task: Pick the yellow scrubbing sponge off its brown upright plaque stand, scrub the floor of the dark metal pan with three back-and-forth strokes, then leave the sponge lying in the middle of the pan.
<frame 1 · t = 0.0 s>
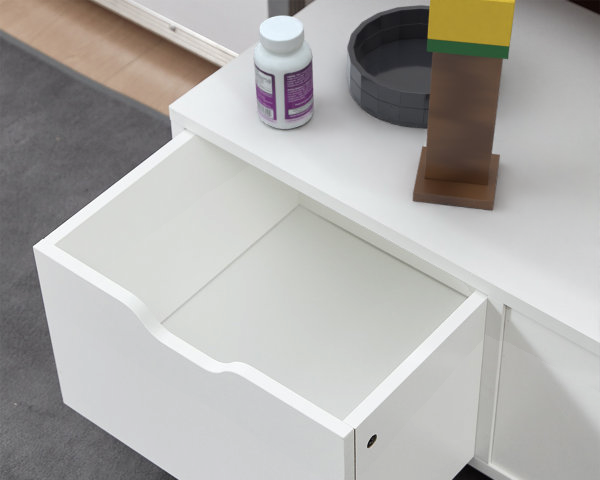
sponge: (469, 40, 98), point 15 cm above the table, touching brown upright plaque stand
pan: (420, 81, 119), on the table
pill bottle: (285, 115, 116), on the table
brown upright plaque stand: (456, 181, 109), on the table
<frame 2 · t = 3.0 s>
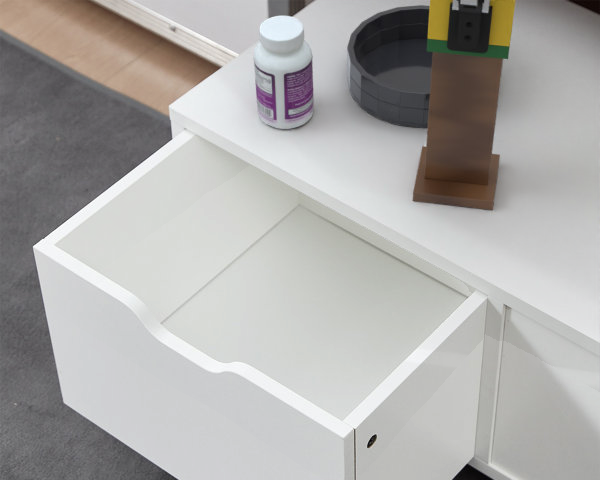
hand: (470, 29, 97), 16 cm above the table, tool pointing down, fingers closed on sponge, 4 cm apart
sponge: (469, 40, 98), point 15 cm above the table, touching gripper, brown upright plaque stand
everything else where it was.
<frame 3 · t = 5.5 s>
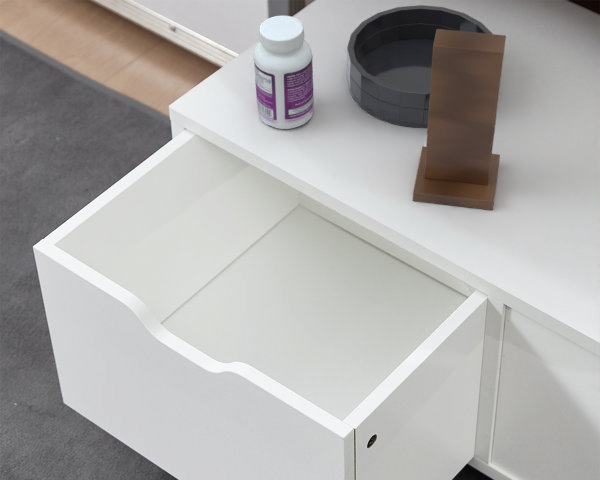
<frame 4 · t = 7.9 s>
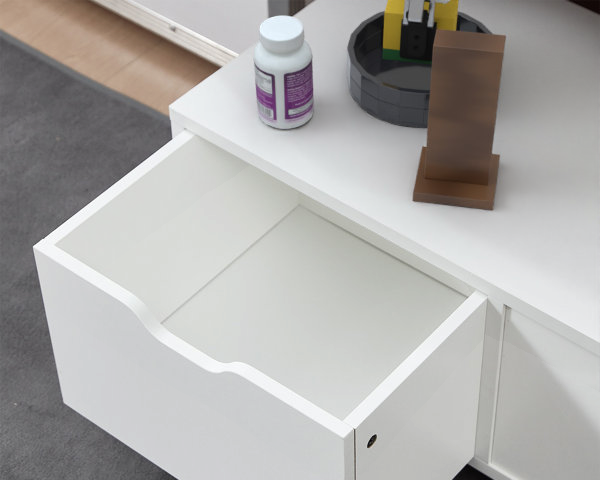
hand: (420, 40, 116), 5 cm above the table, tool pointing down, fingers closed on sponge, 4 cm apart
sponge: (418, 49, 117), point 4 cm above the table, touching gripper
everything else where it was.
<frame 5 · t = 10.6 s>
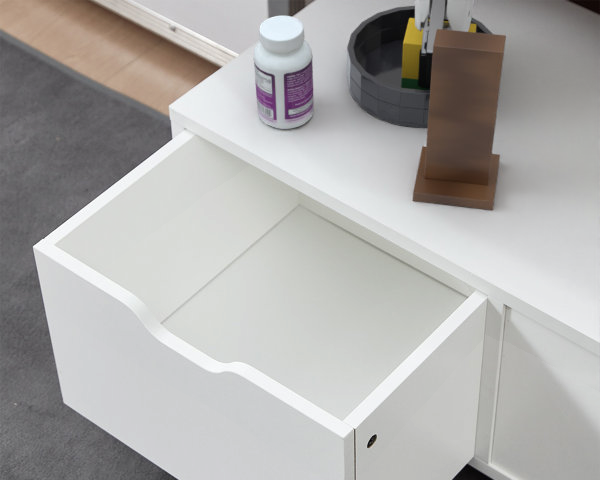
hand: (438, 69, 118), 2 cm above the table, tool pointing down, fingers closed on sponge, 4 cm apart
sponge: (436, 78, 118), point 1 cm above the table, touching gripper
everything else where it was.
when the fingers open (2 cm above the table, at t = 12.7 s): sponge stays where it is, resting on pan.
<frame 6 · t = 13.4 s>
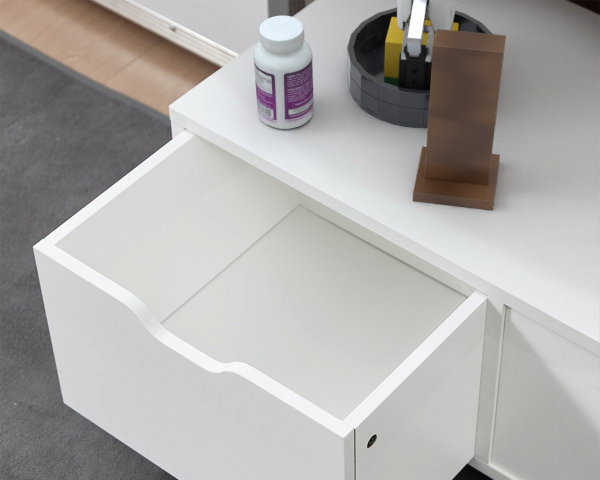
hand: (422, 60, 117), 2 cm above the table, tool pointing down, fingers open, 9 cm apart
sponge: (419, 77, 119), resting on pan
everything else where it was.
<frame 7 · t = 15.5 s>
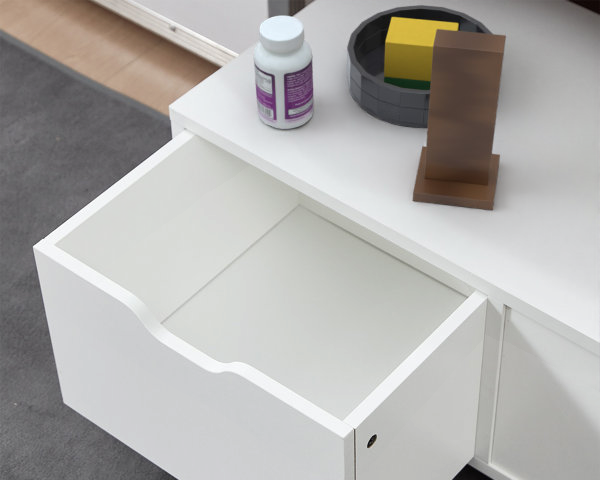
nothing on the table moved.
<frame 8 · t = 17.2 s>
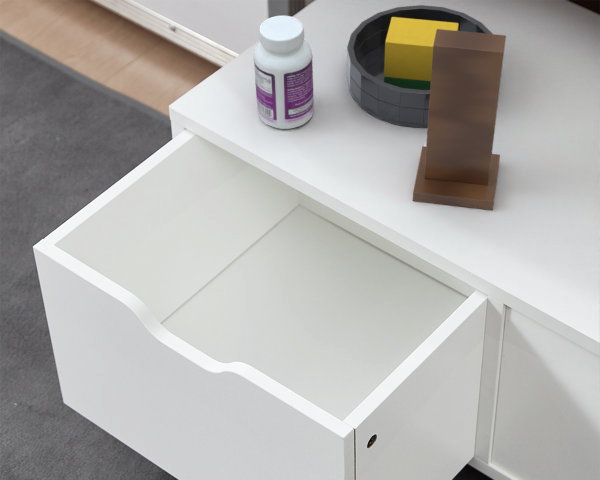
nothing on the table moved.
at the end: sponge 0.1 cm off-centre in the pan, point 0.5 cm above the pan's base; the gripper is holding nothing; sponge tilted 0° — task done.
